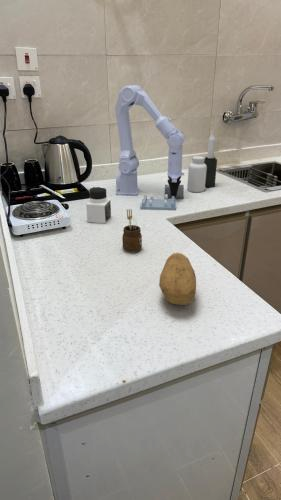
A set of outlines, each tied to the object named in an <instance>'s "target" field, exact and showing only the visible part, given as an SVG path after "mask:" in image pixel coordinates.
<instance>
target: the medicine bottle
mask: <svg viewBox="0 0 281 500" xmlns="http://www.w3.org/2000/svg"><path fill="white" fill-rule="evenodd" d="M88 193H89V194H88V195H89V200H88V202H87V203H85V204H86V205H85V206H86V219H87V220H86V221H87V223H96V224H107V223H108V221H109V220H110V219H111V218H112V208H111V207H112V206H111V205H112V203H111V198H107V196H108V195H107V188H106V187H103V186H93V187H91V188H89V192H88Z"/></svg>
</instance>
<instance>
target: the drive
mask: <svg viewBox="0 0 281 500" xmlns="http://www.w3.org/2000/svg"><path fill="white" fill-rule="evenodd" d="M184 190H185V189H184V184H180V185H179V187H178V191H177V195H176V196H174V200H184V194H185V193H184ZM165 194H167V195H168V199H172V196H171V191H170V186H169V184H164V195H165ZM164 199H165V197H164Z"/></svg>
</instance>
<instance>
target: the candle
mask: <svg viewBox="0 0 281 500" xmlns="http://www.w3.org/2000/svg"><path fill="white" fill-rule="evenodd" d="M214 132H215V131H213V130H212V131H211V134H210V137H209V138H208V143H207V145H208V146H207V156H205V157H204V158H205V159H204V163H205V164H206V166H207V170H206V181H205V189H210V188H215V187H216V177H217V176H216V175H217V168H218V167H217V166H218V159H217V157H216V156H215V149H216V148H215V147H216V137H215V135H214Z"/></svg>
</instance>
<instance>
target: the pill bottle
mask: <svg viewBox="0 0 281 500" xmlns="http://www.w3.org/2000/svg"><path fill="white" fill-rule="evenodd" d="M204 159H205V157H204V156H200V155H195V156H192V161H191V162H190V163H189V164H188V172H187V186H186V187H187V191H188V192H190V193H191V192H192V193H202V192H205V189H206V188H205V181H206V170H207V166H206V164H205V163H204Z"/></svg>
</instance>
